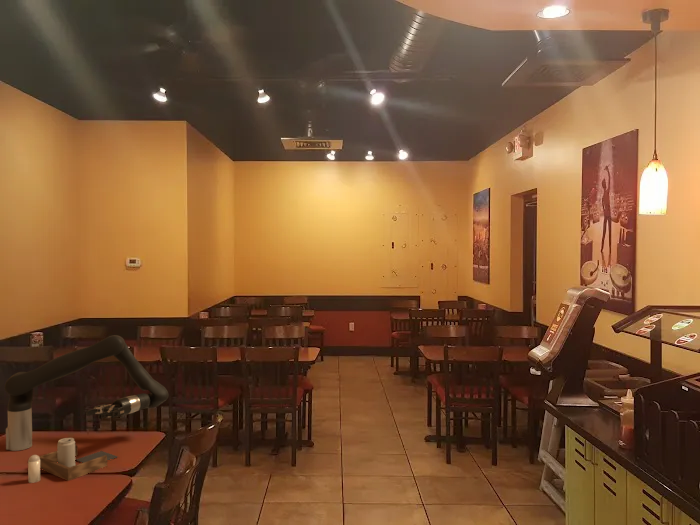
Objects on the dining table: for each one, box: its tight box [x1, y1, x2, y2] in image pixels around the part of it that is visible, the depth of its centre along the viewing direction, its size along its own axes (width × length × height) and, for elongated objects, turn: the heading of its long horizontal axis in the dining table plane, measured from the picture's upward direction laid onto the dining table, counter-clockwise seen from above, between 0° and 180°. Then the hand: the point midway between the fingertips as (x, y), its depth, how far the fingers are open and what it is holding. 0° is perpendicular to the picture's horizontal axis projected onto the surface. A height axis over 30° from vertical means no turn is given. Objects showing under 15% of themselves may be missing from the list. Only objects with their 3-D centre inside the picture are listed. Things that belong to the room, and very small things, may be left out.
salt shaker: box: [27, 454, 41, 484], centre depth 212 cm, size 4×4×10 cm
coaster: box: [75, 450, 119, 463], centre depth 234 cm, size 12×12×1 cm
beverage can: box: [56, 437, 76, 467], centre depth 223 cm, size 6×6×12 cm
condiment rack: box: [38, 444, 108, 481], centre depth 225 cm, size 16×22×4 cm
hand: (92, 415), depth 232 cm, fingers open, 8 cm apart
